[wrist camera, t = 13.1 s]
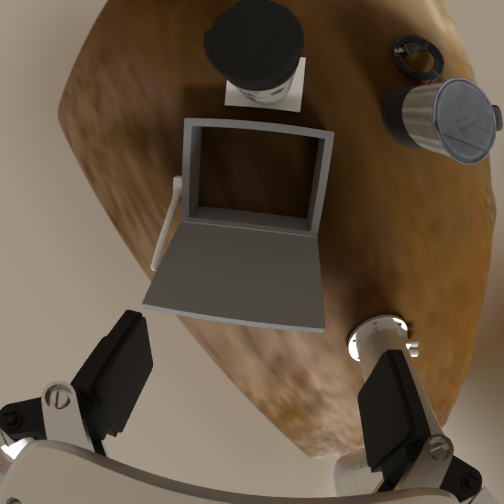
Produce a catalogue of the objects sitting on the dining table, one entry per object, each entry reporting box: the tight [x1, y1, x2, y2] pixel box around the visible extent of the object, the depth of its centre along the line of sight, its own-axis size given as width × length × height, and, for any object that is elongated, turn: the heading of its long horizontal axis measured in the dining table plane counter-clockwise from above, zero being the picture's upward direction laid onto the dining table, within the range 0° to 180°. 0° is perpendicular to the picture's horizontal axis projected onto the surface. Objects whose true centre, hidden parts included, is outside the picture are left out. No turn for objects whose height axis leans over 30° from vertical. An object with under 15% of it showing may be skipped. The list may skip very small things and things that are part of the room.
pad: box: [225, 57, 306, 112], centre depth 31 cm, size 10×8×1 cm
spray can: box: [204, 0, 304, 104], centre depth 22 cm, size 7×7×20 cm
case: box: [142, 118, 334, 333], centre depth 30 cm, size 19×18×19 cm
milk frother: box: [383, 35, 503, 165], centre depth 23 cm, size 14×16×15 cm
